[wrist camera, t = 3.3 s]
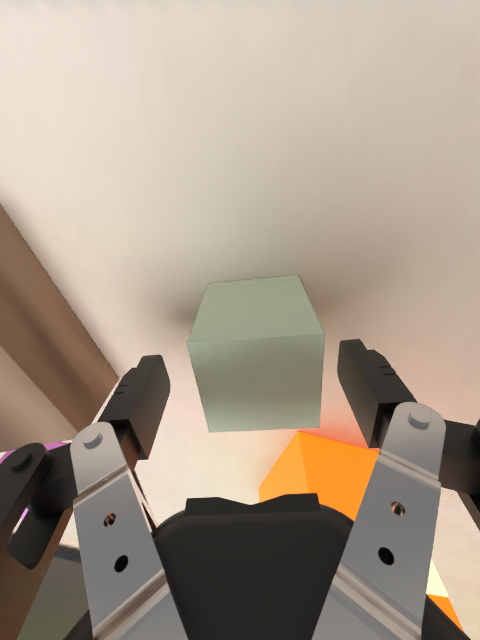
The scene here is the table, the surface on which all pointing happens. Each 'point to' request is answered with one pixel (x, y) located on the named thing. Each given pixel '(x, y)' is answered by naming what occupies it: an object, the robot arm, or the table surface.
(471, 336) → the table surface
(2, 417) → the plate
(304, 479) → the orange juice
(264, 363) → the sage block
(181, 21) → the table surface
